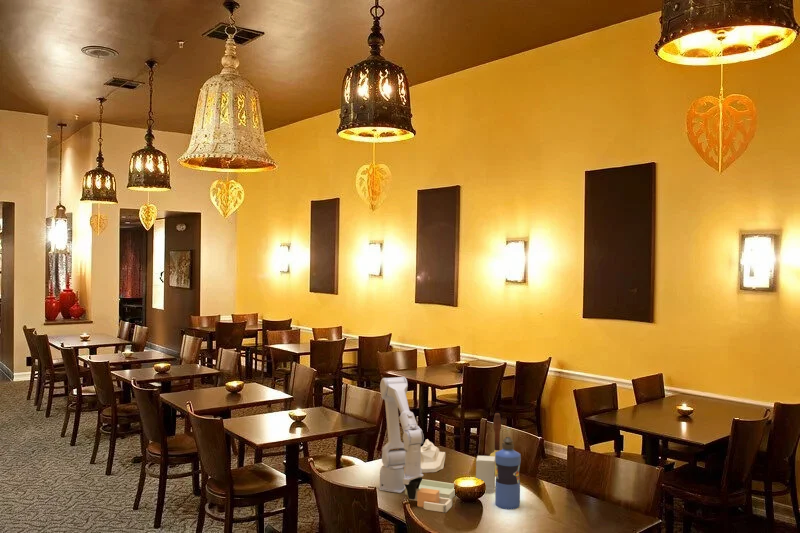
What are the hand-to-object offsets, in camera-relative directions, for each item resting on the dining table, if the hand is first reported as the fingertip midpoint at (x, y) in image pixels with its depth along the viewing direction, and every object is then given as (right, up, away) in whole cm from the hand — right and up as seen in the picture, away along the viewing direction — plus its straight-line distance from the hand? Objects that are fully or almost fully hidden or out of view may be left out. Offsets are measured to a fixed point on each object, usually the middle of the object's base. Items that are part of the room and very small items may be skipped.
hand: (412, 498), depth 245 cm
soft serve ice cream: (+8, -3, +43) cm, 44 cm away
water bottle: (+35, -3, -1) cm, 35 cm away
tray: (+8, -2, +12) cm, 14 cm away
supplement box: (+29, -3, +16) cm, 33 cm away
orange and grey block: (+4, -2, -2) cm, 5 cm away
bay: (+9, -2, -4) cm, 10 cm away
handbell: (+37, -3, +41) cm, 55 cm away
